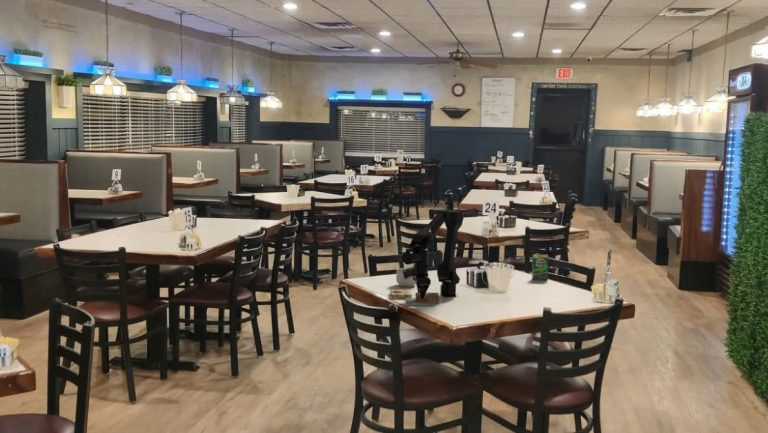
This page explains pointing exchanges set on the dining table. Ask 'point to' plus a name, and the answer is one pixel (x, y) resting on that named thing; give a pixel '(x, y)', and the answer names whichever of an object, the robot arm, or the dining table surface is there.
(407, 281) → the teacup
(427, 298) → the walnut block
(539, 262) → the coffee box
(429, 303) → the grey mat
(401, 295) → the oak holder
